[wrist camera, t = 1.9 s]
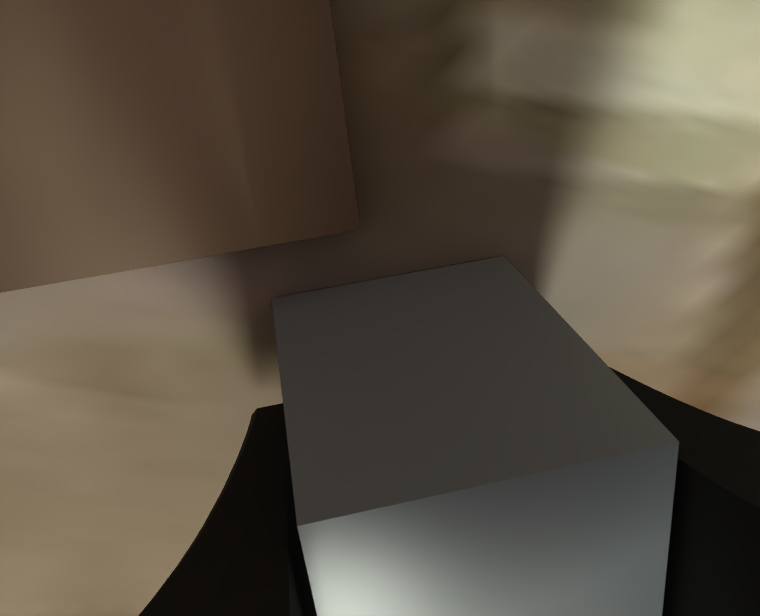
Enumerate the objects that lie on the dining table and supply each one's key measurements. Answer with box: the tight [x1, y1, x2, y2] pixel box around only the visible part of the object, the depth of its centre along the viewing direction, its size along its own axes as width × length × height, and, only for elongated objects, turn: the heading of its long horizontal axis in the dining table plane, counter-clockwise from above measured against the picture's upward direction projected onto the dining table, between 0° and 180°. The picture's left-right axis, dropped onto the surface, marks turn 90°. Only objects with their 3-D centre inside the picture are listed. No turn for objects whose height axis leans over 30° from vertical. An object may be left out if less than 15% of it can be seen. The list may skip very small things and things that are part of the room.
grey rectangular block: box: [271, 256, 679, 616], centre depth 12 cm, size 4×4×6 cm
